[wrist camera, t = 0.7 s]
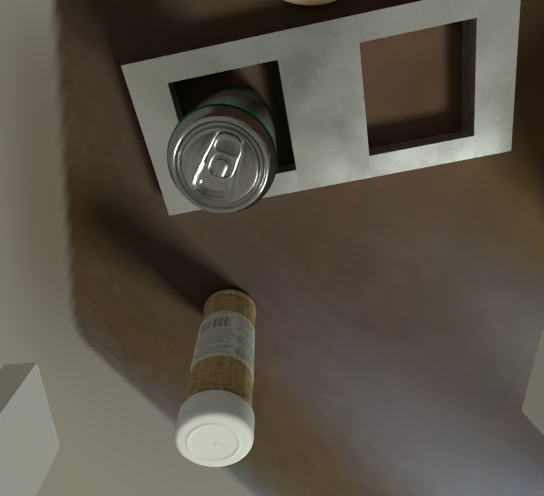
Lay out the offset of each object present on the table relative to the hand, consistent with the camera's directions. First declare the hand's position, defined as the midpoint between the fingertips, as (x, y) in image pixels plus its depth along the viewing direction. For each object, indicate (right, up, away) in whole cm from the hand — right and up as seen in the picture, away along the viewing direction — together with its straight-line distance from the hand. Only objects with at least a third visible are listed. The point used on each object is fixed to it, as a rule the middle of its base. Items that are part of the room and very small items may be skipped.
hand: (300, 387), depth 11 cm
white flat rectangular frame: (+3, +13, +17) cm, 22 cm away
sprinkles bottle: (-4, -2, +25) cm, 25 cm away
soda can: (-3, +12, +18) cm, 22 cm away
